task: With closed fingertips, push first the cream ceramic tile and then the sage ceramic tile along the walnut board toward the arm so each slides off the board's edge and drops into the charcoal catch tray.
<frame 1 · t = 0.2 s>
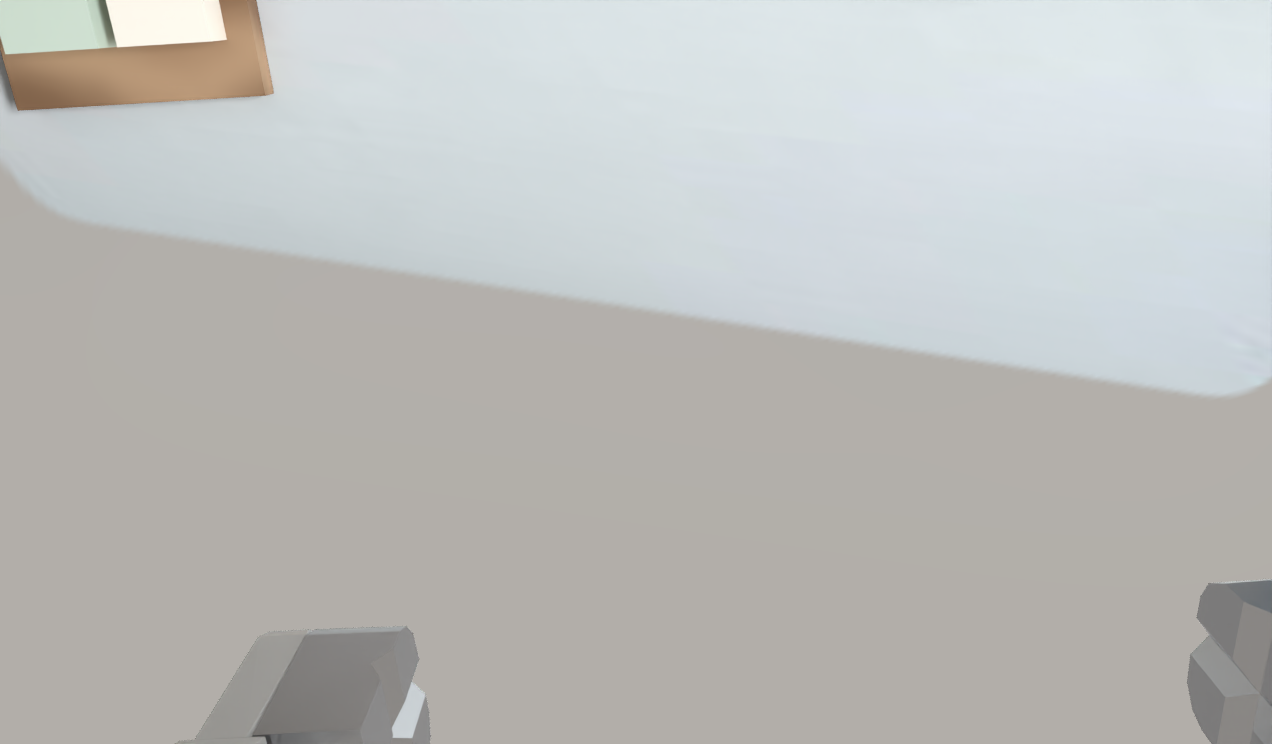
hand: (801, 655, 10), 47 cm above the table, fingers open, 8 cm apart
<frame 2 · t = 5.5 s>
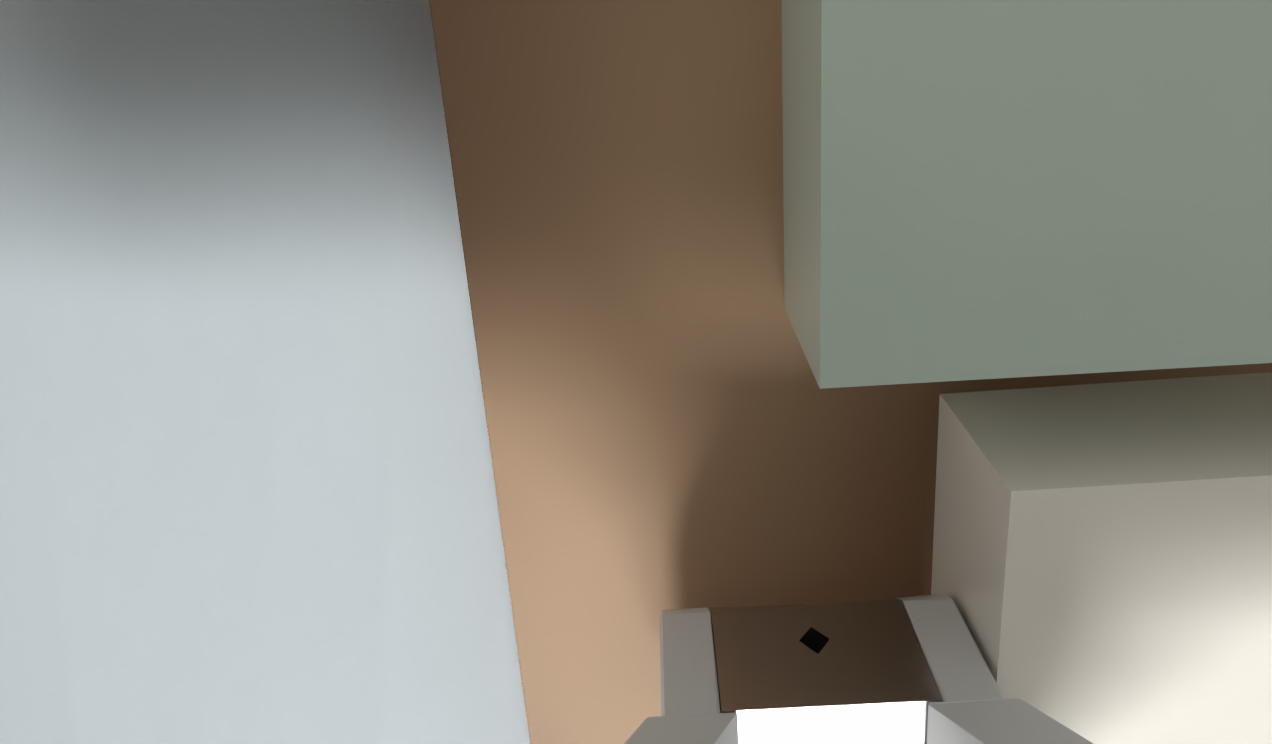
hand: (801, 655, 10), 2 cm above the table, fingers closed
tile sage: (1135, 7, 8), point 1 cm above the table, touching board
tile cream: (1212, 589, 10), point 1 cm above the table, touching board, gripper
board: (1044, 299, 10), on the table
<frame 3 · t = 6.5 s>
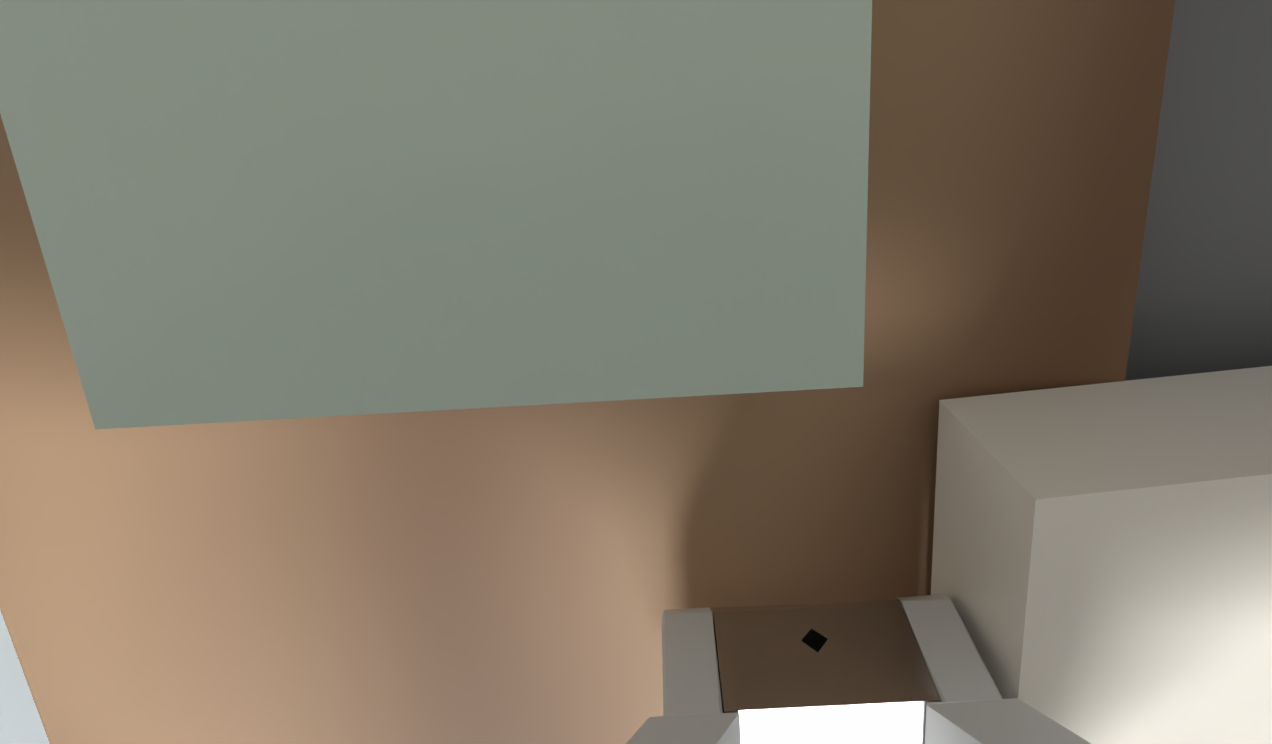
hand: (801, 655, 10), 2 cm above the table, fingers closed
tile sage: (476, 54, 8), point 1 cm above the table, touching board
tile cream: (1200, 583, 10), point 1 cm above the table, tilted 5°, touching gripper
board: (529, 330, 11), on the table
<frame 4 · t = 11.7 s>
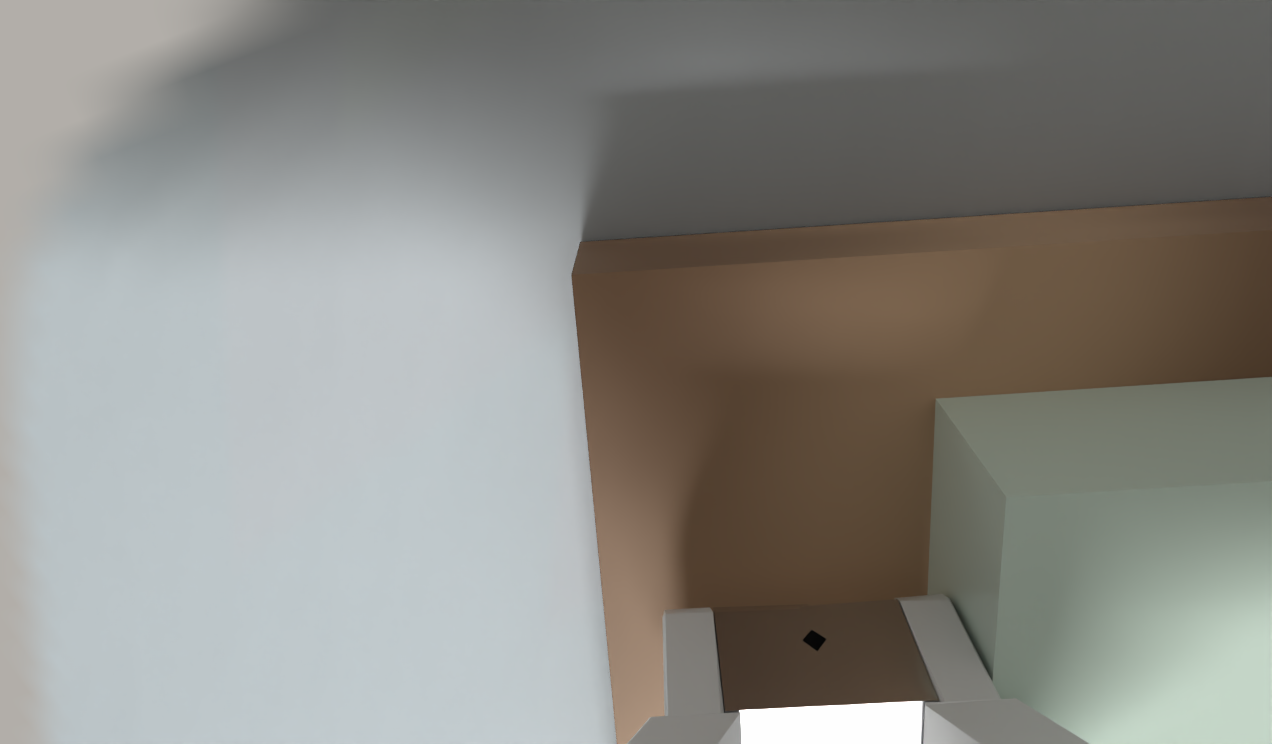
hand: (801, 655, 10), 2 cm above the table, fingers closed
tile sage: (1208, 593, 10), point 1 cm above the table, touching gripper
board: (1080, 730, 13), on the table
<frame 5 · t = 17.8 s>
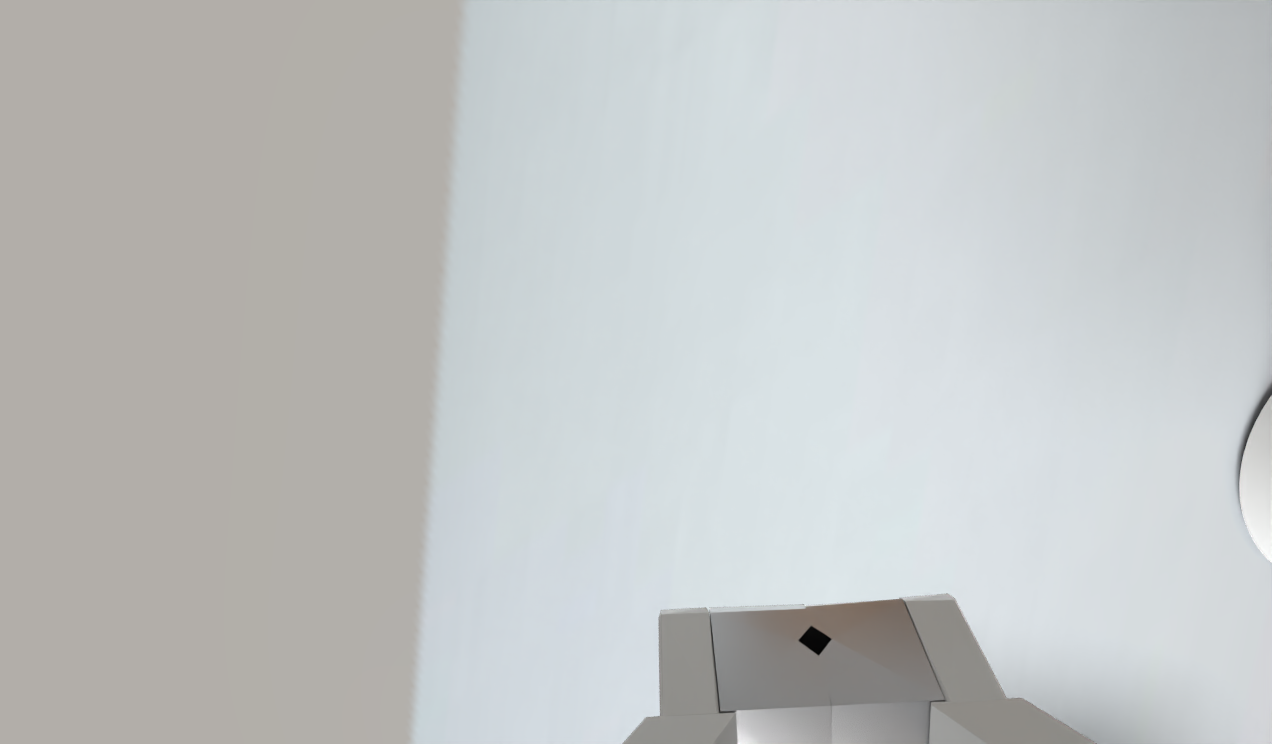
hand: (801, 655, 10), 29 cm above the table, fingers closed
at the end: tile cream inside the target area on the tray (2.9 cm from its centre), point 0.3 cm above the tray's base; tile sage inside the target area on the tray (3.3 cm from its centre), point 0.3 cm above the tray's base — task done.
